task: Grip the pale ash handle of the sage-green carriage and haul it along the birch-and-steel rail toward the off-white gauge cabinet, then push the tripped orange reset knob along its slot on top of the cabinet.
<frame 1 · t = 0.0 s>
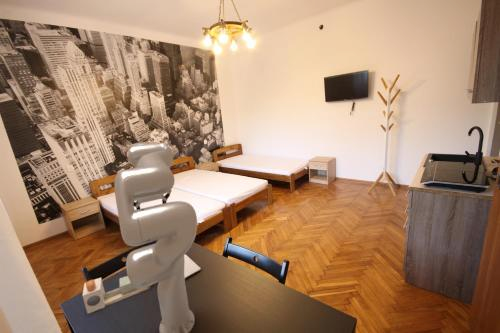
hand: (152, 212, 97), 37 cm above the table, tool pointing down, fingers open, 9 cm apart
carriage: (131, 276, 102), point 7 cm above the table, slide at 0.0 cm
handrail: (128, 291, 103), on the table
reset knob: (90, 285, 93), point 11 cm above the table, slide at 0.0 cm
gauge cabinet: (96, 303, 97), on the table
plate: (175, 272, 114), on the table
lemon: (172, 255, 127), on the table
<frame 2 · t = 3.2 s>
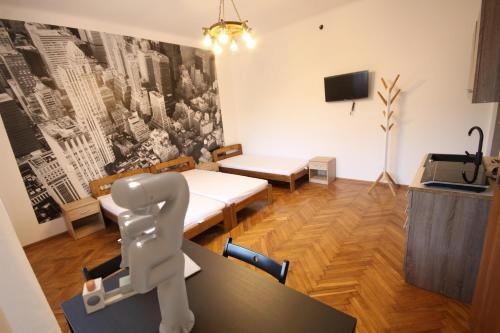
hand: (139, 274, 104), 7 cm above the table, tool pointing down, fingers closed on carriage, 3 cm apart
carriage: (131, 276, 102), point 7 cm above the table, slide at 0.0 cm, touching gripper
everything else where it was.
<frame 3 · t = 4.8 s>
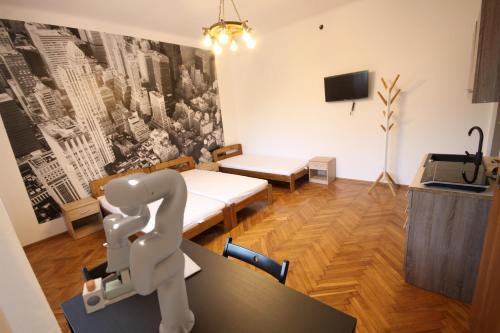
hand: (126, 278, 101), 7 cm above the table, tool pointing down, fingers closed on carriage, 3 cm apart
carriage: (118, 281, 100), point 7 cm above the table, slide at 5.2 cm, touching gripper
everything else where it was.
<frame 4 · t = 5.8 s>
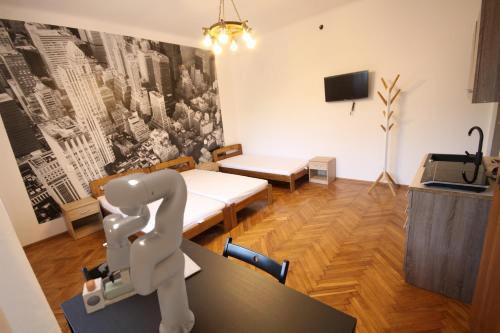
hand: (125, 276, 101), 8 cm above the table, tool pointing down, fingers open, 9 cm apart
carriage: (118, 281, 100), point 7 cm above the table, slide at 5.3 cm
everything else where it was.
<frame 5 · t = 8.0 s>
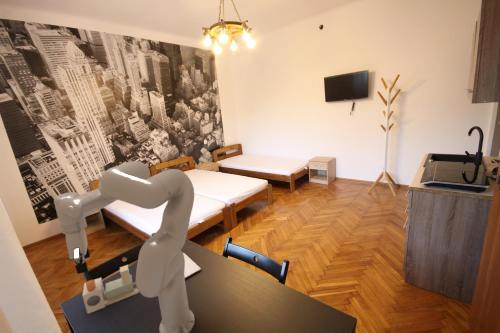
hand: (84, 264, 89), 21 cm above the table, tool pointing down, fingers open, 9 cm apart
nothing on the table moved.
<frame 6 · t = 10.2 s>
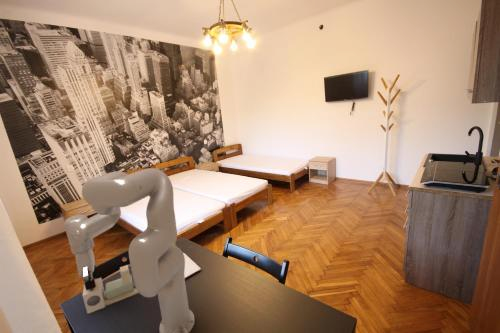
hand: (91, 280, 97), 10 cm above the table, tool pointing down, fingers open, 9 cm apart
reset knob: (91, 283, 94), point 11 cm above the table, slide at 1.2 cm, touching gripper
everything else where it was.
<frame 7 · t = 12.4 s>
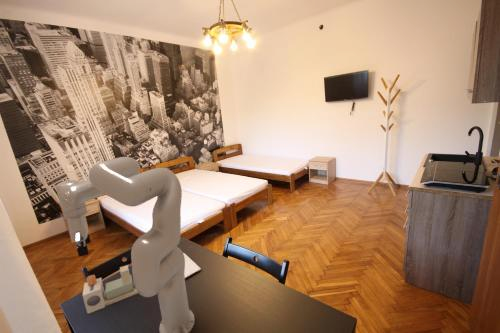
hand: (85, 249, 95), 24 cm above the table, tool pointing down, fingers open, 9 cm apart
reset knob: (91, 280, 96), point 11 cm above the table, slide at 3.4 cm
everything else where it was.
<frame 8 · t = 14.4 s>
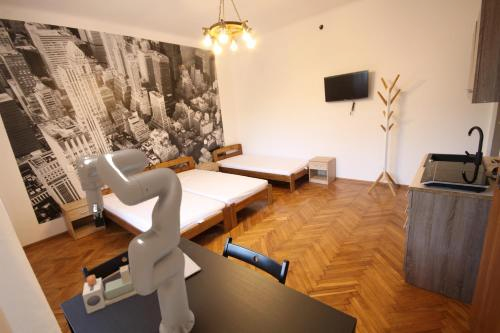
hand: (101, 221, 100), 32 cm above the table, tool pointing down, fingers open, 9 cm apart
nothing on the table moved.
at the end: carriage slide at 5.3 cm; reset knob slide at 3.4 cm; the gripper is holding nothing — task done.
